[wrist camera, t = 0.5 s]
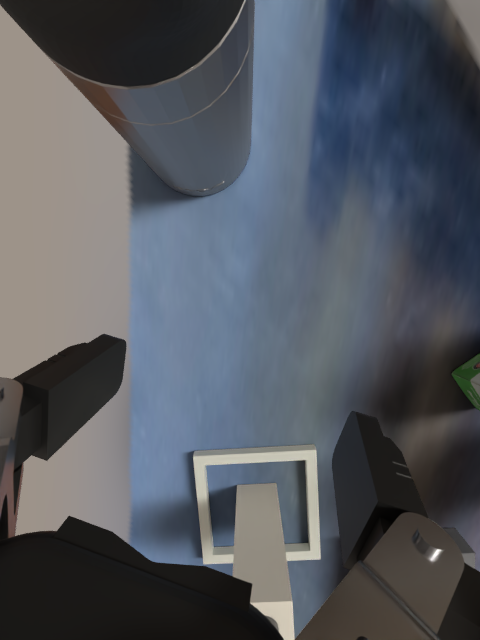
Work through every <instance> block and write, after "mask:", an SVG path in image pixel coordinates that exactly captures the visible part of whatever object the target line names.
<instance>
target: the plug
mask: <svg viewBox="0 0 480 640" xmlns="http://www.w3.org/2000/svg"><path fill="white" fill-rule="evenodd" d="M233 577H235V578H238V579H241V580H243V581H246V582H249V583H252V591H251V598H250V603H251V604H252V605H253V606H255V607H256V608H257V609H258V610H259V611H260V612H261V613H262V614H264V615H265V616H266V617H267V618H268V619H269V621H270V622H271V623H272V624H273V625H274V626H275V628H276V629H277V630H278V631H279V633H280V634H281V636H282V637H283V639H284V640H294V622H293V604H292V595H291V588H290V580H289V573H288V566H287V559H286V551H285V544H284V537H283V529H282V522H281V515H280V507H279V500H278V493H277V485H276V483H266V484H246V485H237V496H236V517H235V537H234V558H233Z"/></svg>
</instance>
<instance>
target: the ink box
mask: <svg viewBox="0 0 480 640" xmlns="http://www.w3.org/2000/svg"><path fill="white" fill-rule="evenodd" d="M452 376H453V378H454V379H455V381H456V382H457V384H458V385H459V386H460V388H461V389H462V391H463V392H464V394H465V395H466V396H467V398H468V399H469V400H470V401H471V403H472V404H473V405H474V406H475V408H476V409H478V410H480V353H479V354H478V355H476V356H475V357H473V358H472V359H470V360H469V361H467V362H466V363H464V364H463V365H461V366H460V367H459V368H457V369H456V370H454V371H453V373H452Z"/></svg>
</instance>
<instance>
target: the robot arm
mask: <svg viewBox="0 0 480 640" xmlns="http://www.w3.org/2000/svg"><path fill="white" fill-rule="evenodd" d="M0 5H1V6H2V7H3V8H4V10H5V11H6V12H7V13H8V14H9V15H10V16H11V17H12V18H13V19H14V21H15V22H16V23H17V24H18V25H19V26H20V27H21V28H22V29H23V30H24V31H25V33H26V34H27V35H28V36H29V37H30V38H31V39H32V40H33V41H34V42H35V43H36V44H37V46H38V47H40V49H41V50H42V51H43V52H44V53H45V54H46V55H47V56H48V57H49V59H51V61H52V62H53V63H54V64H55V65H56V66H57V67H58V68H59V69H60V70H61V71H62V73H63V74H64V75H65V76H66V77H67V78H68V79H69V80H70V81H71V82H72V83H73V84H74V86H76V87H77V88H78V90H80V92H81V93H82V94H83V95H84V96H85V97H86V98H87V99H88V100H89V101H90V102H91V103H92V105H93V106H94V107H95V108H96V109H97V110H98V111H99V112H100V113H101V114H102V115H103V116H104V118H105V119H106V120H107V121H108V122H109V123H110V124H111V125H112V126H113V127H114V128H115V130H116V131H117V132H118V133H119V134H120V135H121V136H122V137H123V138H124V139H125V140H126V141H127V143H128V144H129V145H130V146H131V147H132V148H133V149H134V150H135V151H136V152H137V153H138V154H139V156H140V157H141V158H142V159H143V160H144V161H145V162H146V163H147V164H148V165H149V167H150V168H151V169H152V170H153V171H154V172H155V173H156V174H157V175H158V176H159V177H160V178H161V179H162V181H163V182H165V183H166V184H167V185H168V186H170V187H171V188H172V189H174V190H176V191H178V192H180V193H183V194H187V195H191V196H206V195H211V194H215V193H217V192H219V191H222V190H224V189H225V188H227V187H228V186H229V185H231V184H232V183H233V182H234V181H235V180H236V179H237V178H238V177H239V175H240V174H241V172H242V171H243V169H244V167H245V165H246V163H247V160H248V157H249V154H250V146H251V126H252V93H253V51H254V9H255V3H254V0H0ZM125 354H126V341H125V340H123V339H119V338H116V337H113V336H110V335H106V334H102V335H100V336H99V337H98V338H96V339H94V340H92V341H91V342H89V343H81V344H77V345H74V346H70V347H68V348H66V349H64V350H63V351H61V352H59V353H58V354H57V355H54V356H52V357H51V358H49V359H48V360H47V361H43V362H42V363H40V364H38V365H37V366H35V367H33V368H31V369H29V370H28V371H26V372H24V373H22V374H21V375H19V376H17V377H15V378H14V379H9V378H1V377H0V640H284V639H283V637H282V636H281V634H280V633H279V631H278V630H277V629H276V628H275V626H274V625H273V624H272V623H271V622H270V621H269V619H268V618H267V617H266V616H265V615H264V614H262V613H261V612H260V611H259V610H258V609H257V608H256V607H255V606H253V605H252V604H251V603H250V598H251V591H252V583H249V582H246V581H243V580H241V579H238V578H235V577H233V576H230V575H227V574H225V573H222V572H219V571H216V570H214V569H211V568H208V567H206V566H194V565H180V564H167V563H156V562H152V561H150V560H149V559H147V558H146V557H144V556H143V555H142V554H141V553H139V552H138V551H137V550H135V549H134V548H133V547H131V546H130V545H129V544H127V543H126V542H125V541H123V540H122V539H121V538H119V537H118V536H117V535H116V534H114V533H113V532H111V531H109V530H106V529H103V528H100V527H98V526H95V525H92V524H90V523H87V522H84V521H82V520H79V519H76V518H74V517H71V516H68V518H67V519H66V520H65V521H64V523H63V524H62V526H61V527H60V528H59V529H58V531H40V532H32V533H26V534H22V535H18V536H15V531H16V522H17V515H18V507H19V499H20V492H21V485H22V477H23V462H24V461H25V460H27V459H28V458H29V457H30V456H31V455H33V456H35V457H38V458H41V459H44V460H46V461H47V460H48V459H49V458H50V457H51V456H52V455H53V454H54V453H55V452H56V451H57V450H58V449H59V448H61V447H62V446H63V445H64V444H65V443H66V442H67V440H69V439H70V438H71V437H72V436H73V435H74V434H75V433H76V432H77V431H78V430H79V429H80V428H81V427H82V426H83V425H84V424H85V423H86V422H87V421H88V420H90V418H92V417H93V416H94V415H95V414H96V413H97V412H98V411H99V410H100V409H101V408H102V407H103V406H104V405H105V404H106V403H107V402H108V401H109V400H110V399H111V398H112V397H113V396H114V395H115V394H116V393H117V391H118V389H119V388H120V385H121V382H122V379H123V371H124V363H125V362H124V361H125ZM406 466H407V465H406V462H405V460H404V457H403V455H402V452H401V451H400V450H399V448H398V447H397V446H396V445H395V444H394V442H393V441H392V440H391V439H390V438H387V437H384V436H383V434H382V431H381V428H380V425H379V422H378V420H377V418H375V417H371V416H368V415H365V414H362V413H358V412H355V411H352V412H351V413H350V415H349V416H348V419H347V421H346V423H345V426H344V428H343V430H342V433H341V435H340V437H339V440H338V442H337V444H336V447H335V450H334V453H333V459H332V471H333V480H334V489H335V498H336V507H337V516H338V525H339V534H340V543H341V552H342V561H343V568H346V569H349V570H350V572H349V573H348V574H347V575H346V577H345V578H344V579H343V580H342V582H341V583H340V584H339V585H338V586H337V588H336V589H335V590H334V591H333V593H332V594H331V595H330V596H329V598H328V599H327V600H326V601H325V603H324V604H323V605H322V606H321V608H320V609H319V610H318V611H317V612H316V614H315V615H314V616H313V617H312V619H311V620H310V621H309V622H308V624H307V625H306V626H305V627H304V629H303V630H302V631H301V632H300V633H299V635H298V636H297V637H296V638H295V640H480V572H479V571H477V570H476V569H474V568H472V567H471V566H469V565H468V564H466V563H465V562H464V559H463V556H462V553H461V551H460V549H459V547H458V546H457V544H456V543H455V541H454V540H453V539H452V538H451V537H450V535H449V534H448V533H447V532H446V531H445V530H444V529H442V528H441V527H440V526H439V525H438V524H436V523H435V522H433V521H432V520H430V519H428V516H427V514H426V511H425V509H424V506H423V504H422V501H421V499H420V496H419V494H418V492H417V489H416V487H415V484H414V482H413V480H412V479H411V474H410V472H409V469H408V468H406Z"/></svg>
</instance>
